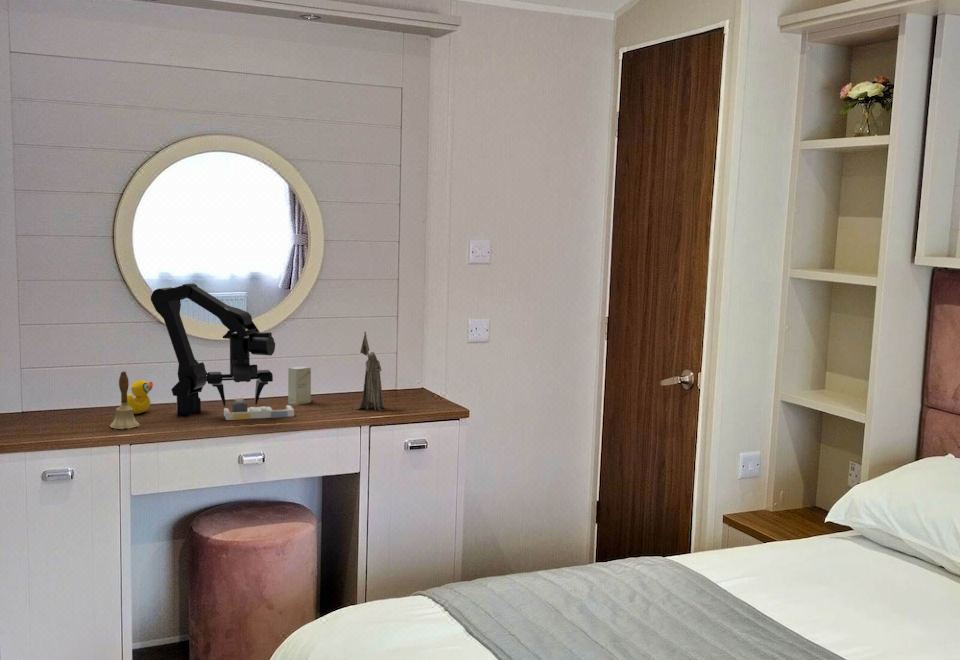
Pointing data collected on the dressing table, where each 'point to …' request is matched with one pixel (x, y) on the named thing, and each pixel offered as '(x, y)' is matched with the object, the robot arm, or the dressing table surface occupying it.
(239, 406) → the plug
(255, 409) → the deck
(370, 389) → the wizard figurine
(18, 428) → the dressing table surface
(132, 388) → the duckling
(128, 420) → the hand bell
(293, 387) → the skincare box
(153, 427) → the dressing table surface
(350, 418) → the dressing table surface
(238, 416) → the socket board
